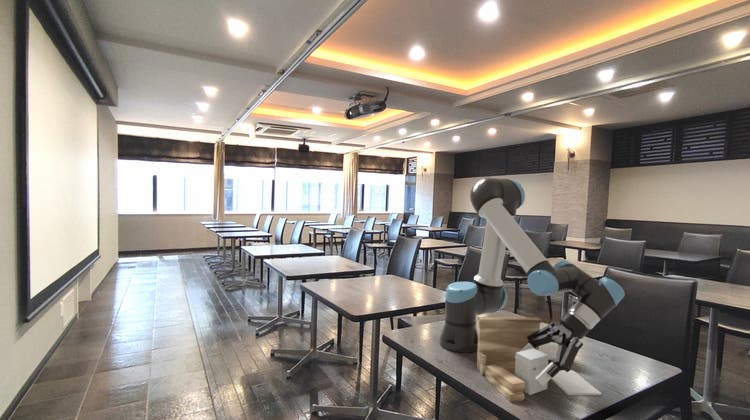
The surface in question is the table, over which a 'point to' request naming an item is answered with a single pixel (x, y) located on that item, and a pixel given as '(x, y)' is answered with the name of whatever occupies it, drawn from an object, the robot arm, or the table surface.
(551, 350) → the white rounded block
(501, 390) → the lower pine offcut
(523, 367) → the small box
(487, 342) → the birch rack
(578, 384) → the white flat plate
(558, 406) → the table surface
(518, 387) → the upper pine offcut
